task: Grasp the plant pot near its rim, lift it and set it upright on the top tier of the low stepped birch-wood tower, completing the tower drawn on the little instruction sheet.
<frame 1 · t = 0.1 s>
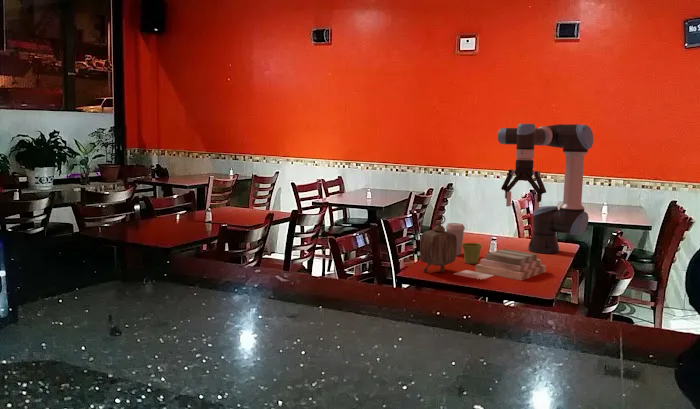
hand: (522, 207, 274), 28 cm above the table, fingers open, 13 cm apart
instruction sheet: (473, 275, 268), on the table
stepped tower: (510, 271, 274), on the table
plant pot: (471, 263, 292), on the table
coffee cup: (454, 254, 311), on the table
tabletop clock: (438, 272, 273), on the table
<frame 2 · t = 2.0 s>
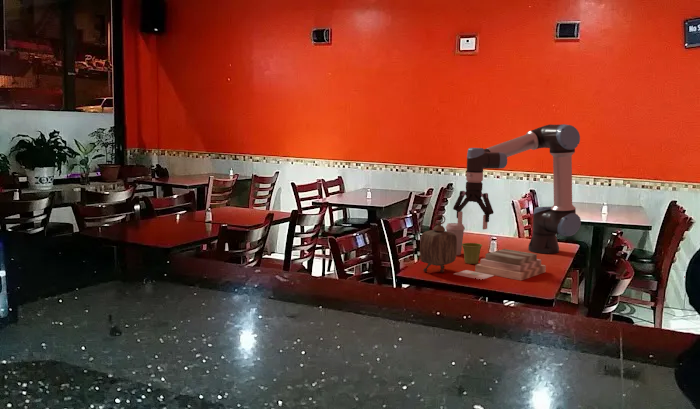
hand: (472, 227, 289), 17 cm above the table, fingers open, 13 cm apart
nothing on the table moved.
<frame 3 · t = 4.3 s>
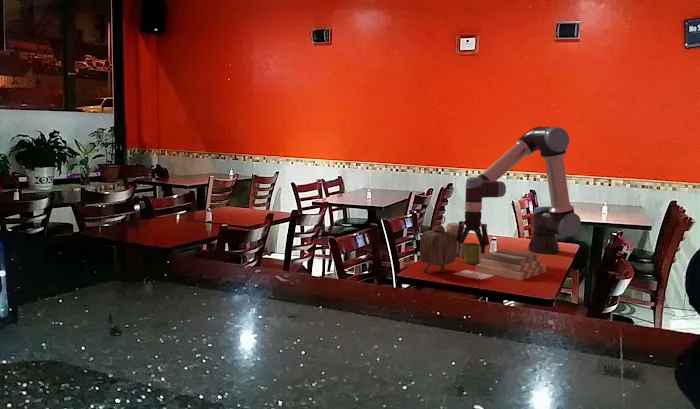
hand: (471, 258, 291), 2 cm above the table, fingers closed on plant pot, 9 cm apart
plant pot: (471, 263, 292), on the table, touching gripper
everything else where it was.
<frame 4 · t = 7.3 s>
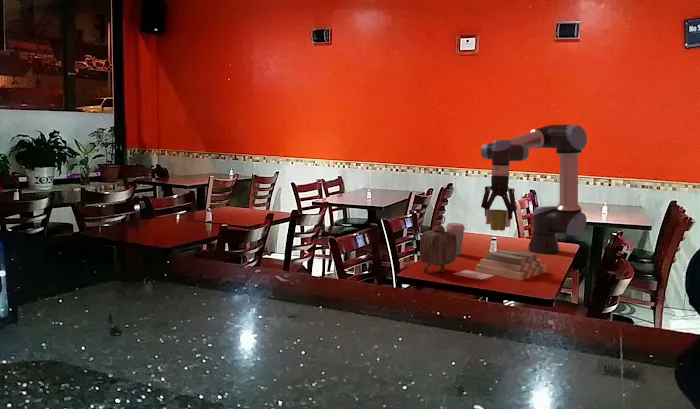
hand: (497, 225, 278), 20 cm above the table, fingers closed on plant pot, 9 cm apart
plant pot: (497, 230, 278), point 17 cm above the table, touching gripper
everything else where it was.
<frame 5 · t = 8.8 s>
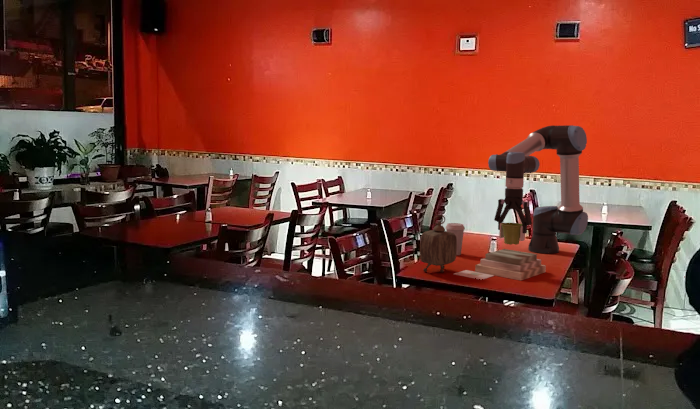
hand: (511, 239, 272), 15 cm above the table, fingers closed on plant pot, 9 cm apart
plant pot: (511, 244, 273), point 12 cm above the table, touching gripper
everything else where it was.
when the fingers open (11 cm above the table, at t = 10.4 s): plant pot stays where it is, resting on stepped tower.
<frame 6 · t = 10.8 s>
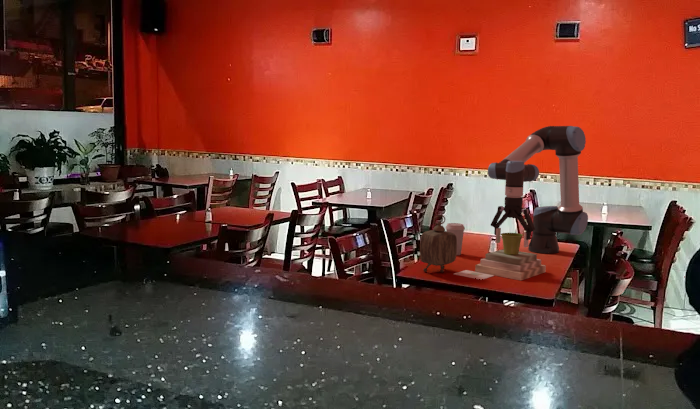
hand: (511, 244, 273), 12 cm above the table, fingers open, 13 cm apart
plant pot: (510, 254, 273), point 8 cm above the table, touching stepped tower
everything else where it was.
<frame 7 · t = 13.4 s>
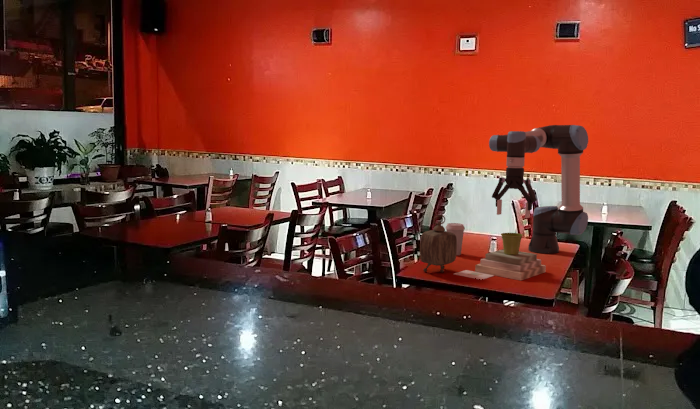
hand: (512, 216, 271), 25 cm above the table, fingers open, 13 cm apart
nothing on the table moved.
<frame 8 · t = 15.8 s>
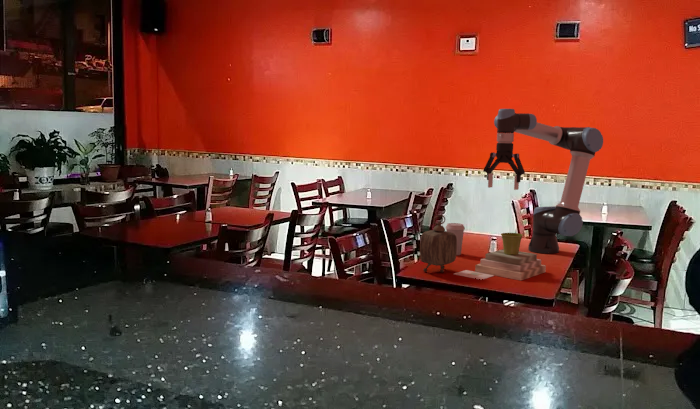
hand: (503, 188, 290), 35 cm above the table, fingers open, 13 cm apart
nothing on the table moved.
at the end: plant pot inside the target area on the stepped tower (0.1 cm from its centre), point 7.8 cm above the stepped tower's base; plant pot tilted 0°; the gripper is holding nothing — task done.
